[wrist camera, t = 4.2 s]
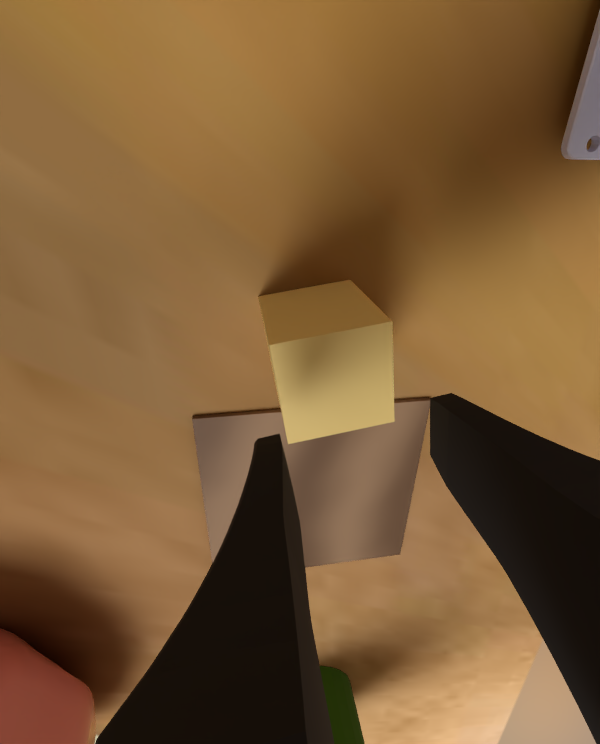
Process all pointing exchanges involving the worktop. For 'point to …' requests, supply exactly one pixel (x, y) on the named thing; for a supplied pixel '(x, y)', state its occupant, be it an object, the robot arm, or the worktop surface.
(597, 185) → the worktop surface
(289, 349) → the ochre block
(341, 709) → the wine bottle
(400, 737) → the worktop surface
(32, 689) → the cell model
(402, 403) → the walnut base
